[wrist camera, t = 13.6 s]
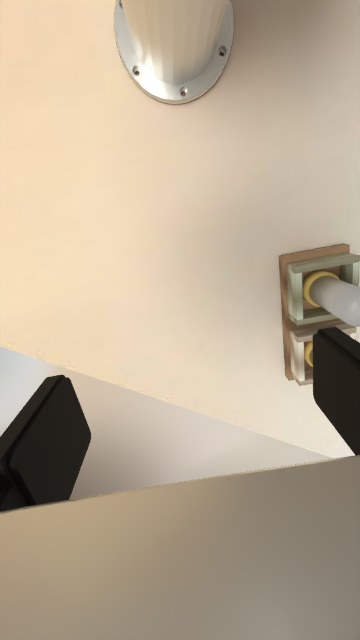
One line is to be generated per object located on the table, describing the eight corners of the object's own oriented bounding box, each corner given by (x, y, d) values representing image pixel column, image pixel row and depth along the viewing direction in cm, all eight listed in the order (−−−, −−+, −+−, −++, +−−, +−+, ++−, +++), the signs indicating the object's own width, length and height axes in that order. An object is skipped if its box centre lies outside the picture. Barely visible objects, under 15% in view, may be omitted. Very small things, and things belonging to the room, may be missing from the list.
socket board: (278, 255, 39) (291, 260, 35) (343, 243, 38) (363, 247, 34) (285, 375, 46) (296, 391, 42) (339, 366, 46) (356, 381, 41)
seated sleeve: (298, 273, 38) (339, 292, 29) (333, 266, 38) (385, 283, 29) (299, 305, 40) (338, 333, 31) (332, 299, 40) (381, 325, 30)
